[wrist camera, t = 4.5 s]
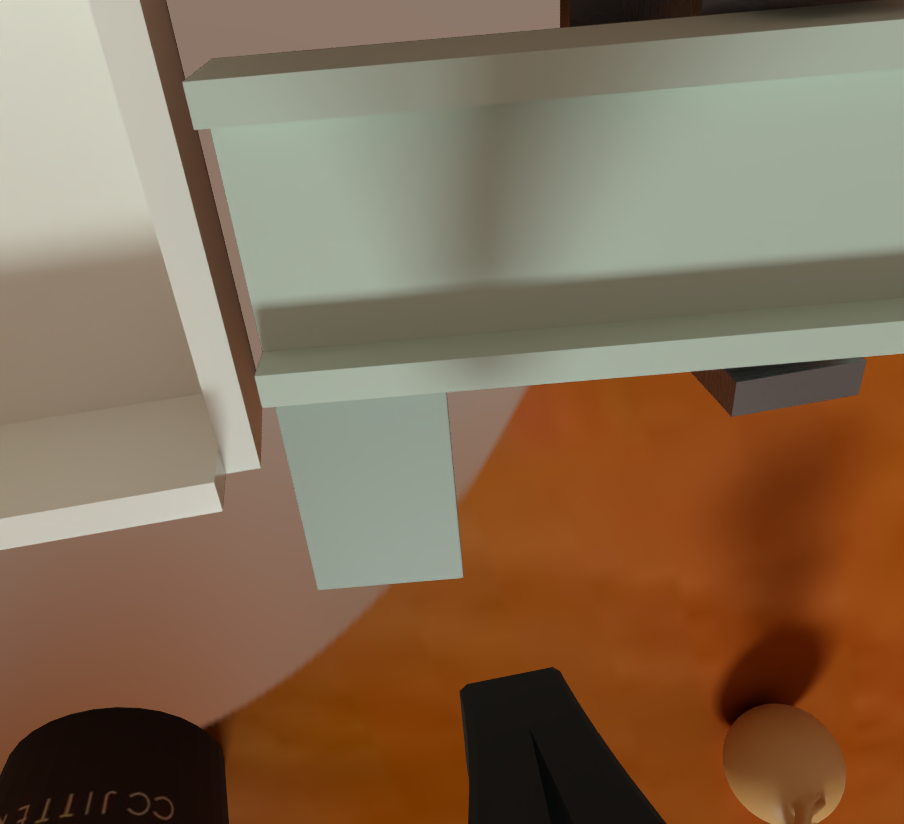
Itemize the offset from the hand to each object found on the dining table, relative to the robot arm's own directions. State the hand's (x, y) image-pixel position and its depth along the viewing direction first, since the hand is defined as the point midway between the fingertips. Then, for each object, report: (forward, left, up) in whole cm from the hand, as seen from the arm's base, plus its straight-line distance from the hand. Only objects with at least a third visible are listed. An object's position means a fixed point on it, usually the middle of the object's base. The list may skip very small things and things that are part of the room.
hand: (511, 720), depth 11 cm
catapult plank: (-6, -3, -5) cm, 9 cm away
